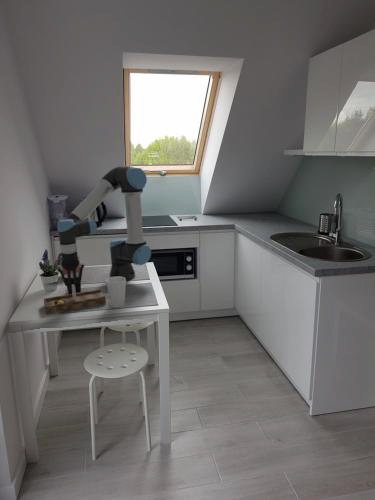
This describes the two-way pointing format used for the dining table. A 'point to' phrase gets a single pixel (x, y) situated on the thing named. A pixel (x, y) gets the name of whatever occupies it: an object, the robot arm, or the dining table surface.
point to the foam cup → (116, 290)
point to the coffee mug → (73, 282)
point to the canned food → (71, 270)
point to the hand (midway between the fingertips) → (74, 297)
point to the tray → (74, 301)
